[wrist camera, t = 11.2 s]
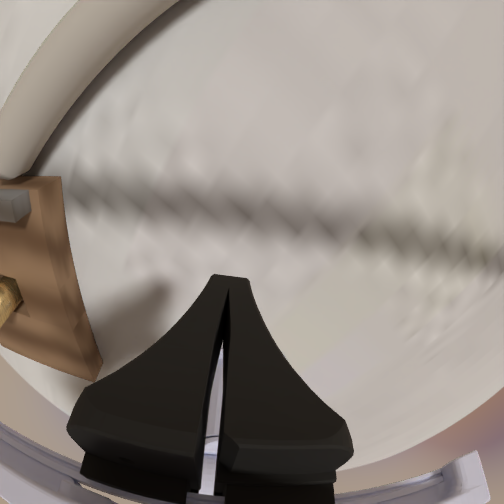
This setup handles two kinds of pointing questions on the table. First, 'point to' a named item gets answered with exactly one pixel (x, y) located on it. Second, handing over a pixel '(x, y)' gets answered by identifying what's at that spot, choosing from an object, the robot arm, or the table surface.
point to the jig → (43, 279)
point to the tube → (66, 73)
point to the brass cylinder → (8, 297)
